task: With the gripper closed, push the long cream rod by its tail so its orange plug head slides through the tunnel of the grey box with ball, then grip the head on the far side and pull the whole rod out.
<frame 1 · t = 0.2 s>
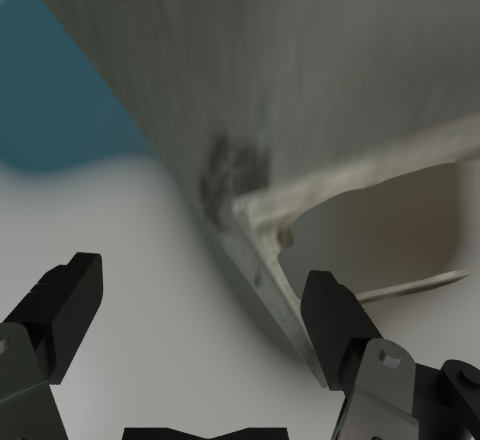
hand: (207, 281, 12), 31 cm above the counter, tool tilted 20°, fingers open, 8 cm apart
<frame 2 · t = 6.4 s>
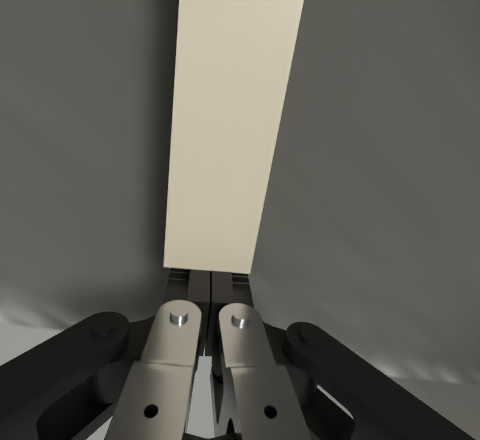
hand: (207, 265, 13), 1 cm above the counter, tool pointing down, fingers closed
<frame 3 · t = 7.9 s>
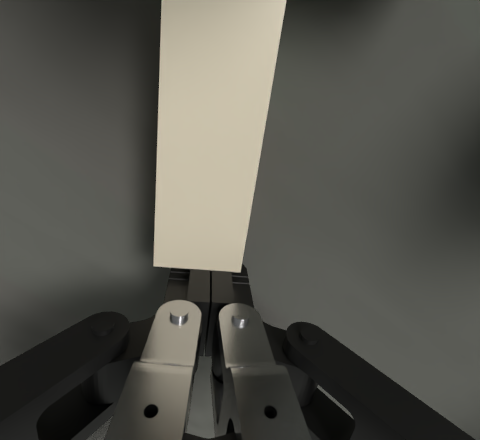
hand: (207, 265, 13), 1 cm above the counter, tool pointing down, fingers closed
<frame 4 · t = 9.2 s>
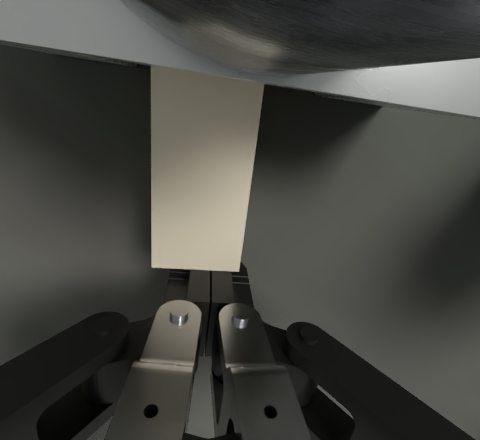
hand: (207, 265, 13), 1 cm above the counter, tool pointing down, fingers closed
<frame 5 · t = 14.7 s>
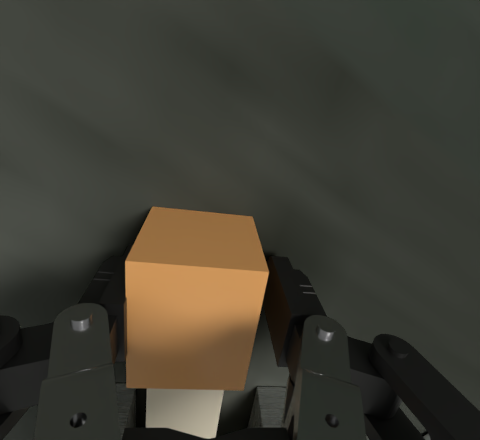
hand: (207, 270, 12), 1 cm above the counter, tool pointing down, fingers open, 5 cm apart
plug rod: (183, 403, 17), on the counter, touching gripper
grey box with ball: (193, 427, 17), on the counter
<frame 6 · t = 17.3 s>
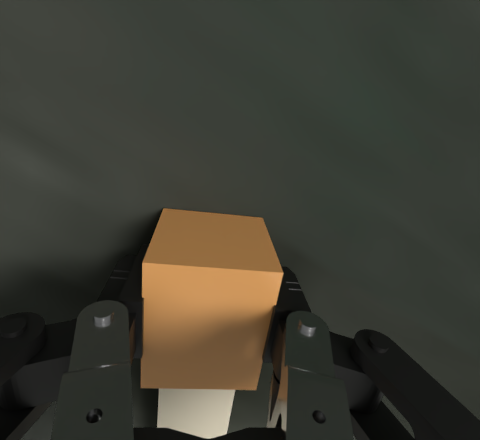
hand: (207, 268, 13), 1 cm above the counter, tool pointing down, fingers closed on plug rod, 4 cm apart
plug rod: (192, 403, 17), on the counter, touching gripper
when the fingers open (1 cm above the counter, at t = 19.8 s): plug rod stays where it is, on the counter.
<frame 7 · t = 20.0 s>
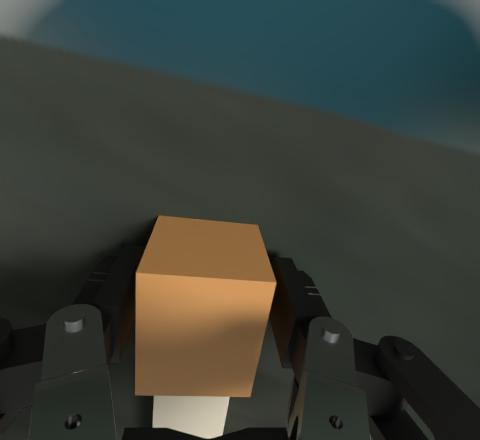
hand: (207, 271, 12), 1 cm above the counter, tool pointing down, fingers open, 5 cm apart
plug rod: (188, 407, 17), on the counter
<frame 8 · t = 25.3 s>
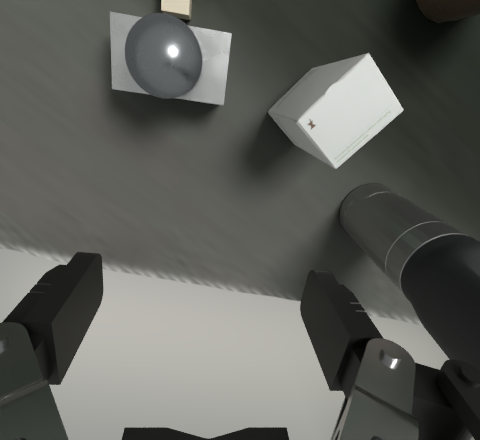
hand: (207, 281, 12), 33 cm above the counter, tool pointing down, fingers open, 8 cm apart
skincare box: (302, 105, 41), on the counter
grey box with ball: (177, 65, 38), on the counter
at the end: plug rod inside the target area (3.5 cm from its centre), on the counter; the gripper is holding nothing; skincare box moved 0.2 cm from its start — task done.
